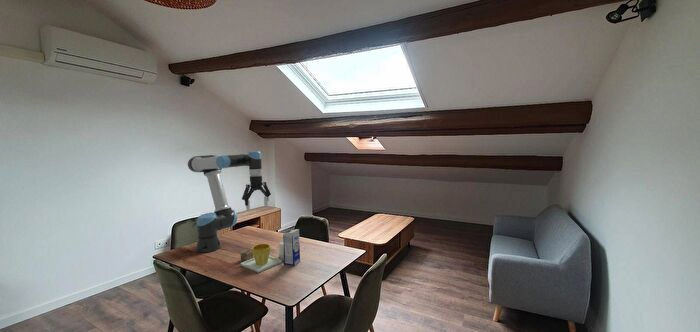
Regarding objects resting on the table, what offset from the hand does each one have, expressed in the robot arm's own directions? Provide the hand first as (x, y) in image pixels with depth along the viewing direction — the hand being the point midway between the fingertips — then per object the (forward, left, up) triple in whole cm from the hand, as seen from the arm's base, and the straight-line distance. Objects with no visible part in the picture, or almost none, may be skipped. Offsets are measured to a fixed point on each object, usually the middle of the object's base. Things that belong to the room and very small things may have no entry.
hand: (257, 208), depth 186 cm
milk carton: (+31, 0, -29) cm, 42 cm away
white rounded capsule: (+21, +3, -29) cm, 36 cm away
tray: (+17, -11, -29) cm, 35 cm away
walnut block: (+4, -12, -29) cm, 31 cm away
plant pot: (+17, -11, -28) cm, 35 cm away
